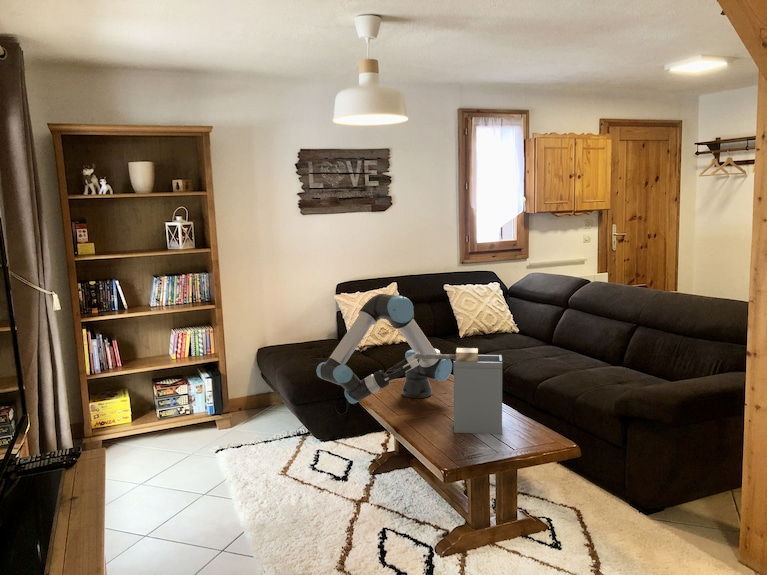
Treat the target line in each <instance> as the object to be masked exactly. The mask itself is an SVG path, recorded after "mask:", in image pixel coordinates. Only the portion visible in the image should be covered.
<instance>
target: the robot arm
mask: <svg viewBox="0 0 767 575" xmlns="http://www.w3.org/2000/svg"><path fill="white" fill-rule="evenodd" d="M414 312H415V311H414V305H413V302H412V301H411V300H410V298H408V297H405V296H403V295H395V294H387V293H378V294H376V295H374V296H372V297H371V298H369V299H368V300H367V301H366V302H365V303H364V304H363V305H362V307H361V308H360V309H359V311H358V316H357V318H356V319H355V320H354V322H353V323H352V325H351V326H350V328H349V329H348V330H347V332H346V333H345V334H344V336H343V337H342V339H341V340H340V342H339V344H338V345H337V346H336V347H335V349H334V350H333V352H331V355H330V356H329V357H328V359H327V360H326V361H324V362H320V363H319V364H318V365H317V367H316V369H315V370H316V374H317V375H316V376H317V377H318V378H320V379H322V380H323V381H327V382H330V383H332V384H336V385H338V386H341V387H342V388H343V389H344V397H345V398H346V400H347V402H348V403H349V404H350V405H351V404H352V405H354V404H356V403H358V402H361V401H362V400H364V399H365V398H367V397H368V396H371V395H373V394H374V393H376V394H377V393H378V391H380V390H382V389H384V388H385V387H387V386H389V384H390V381H392V380H395V379H397V378H399V377H402V376H405V378H404V379H405V380H404V384H403V386H402V389H401V392H402V396H404V397H407V398H411V399H421V398H427V397H430V396H432V394H433V388H432V386H431V383H430V380H429V379H432V380H436V381H439V382H444V381H447V379H448V378H449V377H450V375H451V373H452V372H453V371H452V370H453V363H452V359H414V354H442V352H441V351H440V350H439V349H437V348H434V347H433V345H432V344H431V342H430V341H429V340H428V337H427V336H426V335H425V334H424V332H423V330H422V329H421V327H419V326H420V325H418V324H417V322H416V320H415V319H414V317H415V313H414ZM379 320H386V321H388V322H389V324H390V325H391V327H392V328H393V329H395V330H398V331H399V332H400V334H401V335H402V337H403V338H404V339H405V341H406V342H407V343H408V345H409V346H410V348H411V349H409V350H407V351H406V352H405V354H404V355H405V357H404V358H403V359H402V360H401V361H399V362H397V363H396V364H394V365H393V366H392V367H390V368H387V370H386V371H384V370H382V369H379V370H377V371H375V372H374V374H373V373H371V374H370V375H368V376H366V377H365V378H363V379H361V380H360V378H359V377H358V376H357V374H355V373H354V371H353V370H352V369H351V368H350V367H349V366H348V365H347V364H346V363H347V362H348V361H349V359H350V357H351V356H352V354H354V352H355V350H356V349H357V347H358V346H359V344H361V342H362V340H363V339H364V337H365V336H366V334H367V333H368V331H369V330H370V328H371V327H372V326H373V325H376V324H377V322H378V321H379Z"/></svg>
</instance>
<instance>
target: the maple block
mask: <svg viewBox="0 0 767 575" xmlns="http://www.w3.org/2000/svg"><path fill="white" fill-rule="evenodd" d="M455 354H456V355H455ZM455 354H445V353H444V354H442V353H441V354H414V359H450V360H455V359H456V361H475V362H478V355H479V348H478V347H476V348H475V347H456V350H455Z"/></svg>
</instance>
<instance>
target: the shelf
mask: <svg viewBox="0 0 767 575" xmlns="http://www.w3.org/2000/svg"><path fill="white" fill-rule="evenodd" d="M454 355H456V353H455V354H454ZM454 433H458V434H460V433H461V434H483V435H486V434H487V435H503V356H502V354H478V362H475V361H456V359H454V360H453V434H454Z"/></svg>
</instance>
